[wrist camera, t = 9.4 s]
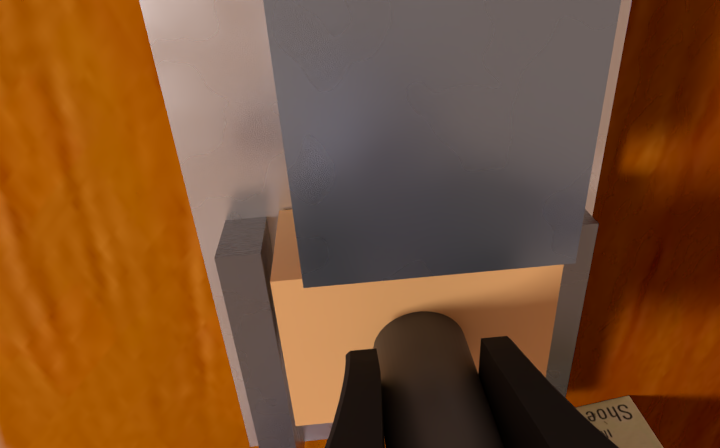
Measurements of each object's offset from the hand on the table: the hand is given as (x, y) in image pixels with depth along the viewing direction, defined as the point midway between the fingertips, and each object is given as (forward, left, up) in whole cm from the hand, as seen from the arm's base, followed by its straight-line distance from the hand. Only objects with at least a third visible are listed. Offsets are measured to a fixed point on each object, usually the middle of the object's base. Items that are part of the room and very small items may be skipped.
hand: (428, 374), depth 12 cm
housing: (+6, 0, -5) cm, 8 cm away
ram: (0, 0, -5) cm, 5 cm away
